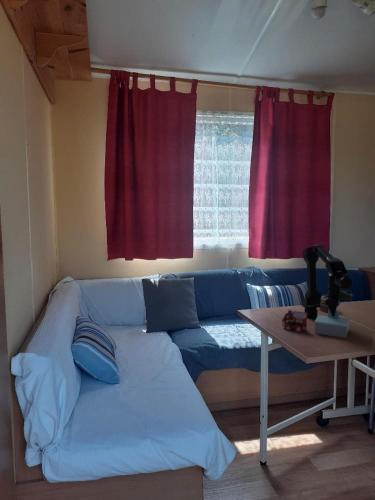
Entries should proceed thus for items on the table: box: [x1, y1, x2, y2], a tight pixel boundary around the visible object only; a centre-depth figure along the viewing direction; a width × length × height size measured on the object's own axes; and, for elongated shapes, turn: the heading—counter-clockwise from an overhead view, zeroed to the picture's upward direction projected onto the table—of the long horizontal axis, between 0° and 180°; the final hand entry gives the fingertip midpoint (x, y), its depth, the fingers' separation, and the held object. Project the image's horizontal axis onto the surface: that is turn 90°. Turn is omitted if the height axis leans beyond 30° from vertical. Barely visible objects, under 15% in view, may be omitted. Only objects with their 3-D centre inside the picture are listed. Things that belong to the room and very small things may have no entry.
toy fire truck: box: [281, 309, 308, 333], centre depth 178 cm, size 7×12×10 cm, turn 56°
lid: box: [314, 309, 350, 327], centre depth 174 cm, size 14×12×5 cm
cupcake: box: [319, 293, 329, 313], centre depth 217 cm, size 10×10×10 cm
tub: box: [314, 322, 350, 339], centre depth 174 cm, size 14×12×6 cm
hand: (333, 315), depth 178 cm, fingers closed on lid
